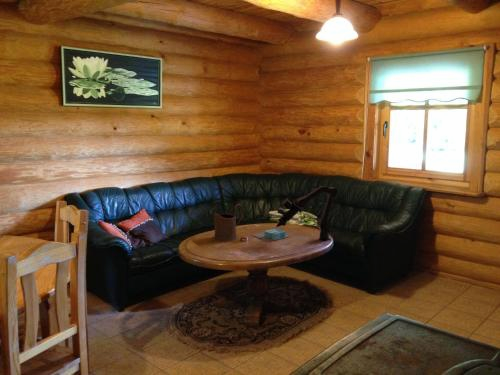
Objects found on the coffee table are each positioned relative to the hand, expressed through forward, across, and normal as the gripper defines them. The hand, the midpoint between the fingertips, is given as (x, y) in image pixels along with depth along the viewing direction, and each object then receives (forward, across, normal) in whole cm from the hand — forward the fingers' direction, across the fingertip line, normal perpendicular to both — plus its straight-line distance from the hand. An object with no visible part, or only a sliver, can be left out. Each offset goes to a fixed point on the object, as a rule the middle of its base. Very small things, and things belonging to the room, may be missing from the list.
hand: (276, 226), depth 320 cm
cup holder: (+33, +4, -18) cm, 38 cm away
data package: (+4, -3, +7) cm, 9 cm away
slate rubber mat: (+12, -10, +3) cm, 16 cm away
